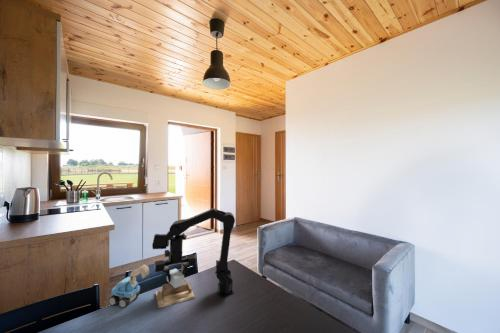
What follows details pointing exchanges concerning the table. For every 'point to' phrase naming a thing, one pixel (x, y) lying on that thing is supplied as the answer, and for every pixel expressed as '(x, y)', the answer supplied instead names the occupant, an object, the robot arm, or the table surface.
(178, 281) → the light grey rectangular block
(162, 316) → the table surface
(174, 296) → the jig
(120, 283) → the toy excavator
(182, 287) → the tan rectangular bar
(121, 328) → the table surface
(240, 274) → the table surface
